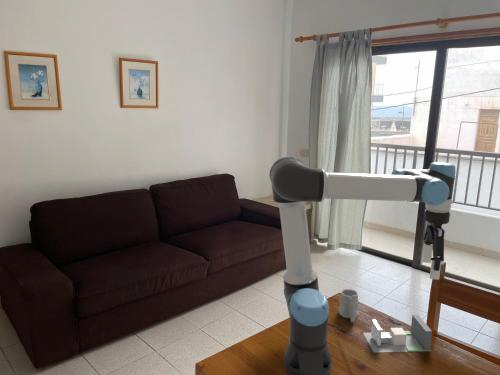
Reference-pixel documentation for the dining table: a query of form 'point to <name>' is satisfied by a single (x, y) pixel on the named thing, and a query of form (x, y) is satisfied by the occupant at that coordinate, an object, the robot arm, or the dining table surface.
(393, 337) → the block
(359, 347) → the dining table surface
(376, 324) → the plunger
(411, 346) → the bench
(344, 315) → the mug
